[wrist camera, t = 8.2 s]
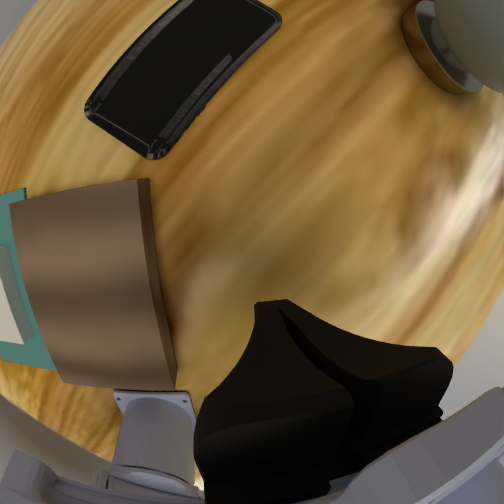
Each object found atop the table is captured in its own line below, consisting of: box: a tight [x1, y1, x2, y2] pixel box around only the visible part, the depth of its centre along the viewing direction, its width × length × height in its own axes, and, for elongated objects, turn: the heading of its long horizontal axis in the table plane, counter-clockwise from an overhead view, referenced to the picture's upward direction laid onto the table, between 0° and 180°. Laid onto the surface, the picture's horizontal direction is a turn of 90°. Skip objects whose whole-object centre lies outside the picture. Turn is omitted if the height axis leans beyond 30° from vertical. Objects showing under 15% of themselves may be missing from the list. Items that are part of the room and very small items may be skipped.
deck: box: [9, 178, 178, 391], centre depth 17 cm, size 16×11×3 cm
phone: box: [84, 0, 282, 160], centre depth 15 cm, size 8×1×15 cm
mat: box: [0, 188, 57, 371], centre depth 17 cm, size 18×12×1 cm, turn 2°
